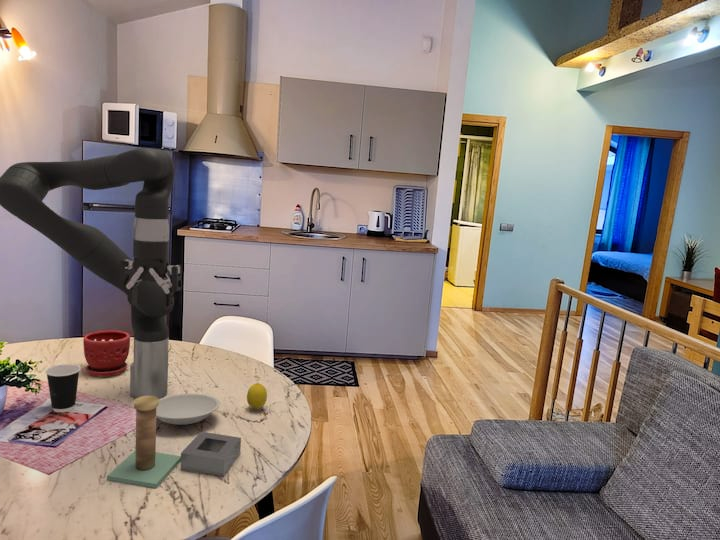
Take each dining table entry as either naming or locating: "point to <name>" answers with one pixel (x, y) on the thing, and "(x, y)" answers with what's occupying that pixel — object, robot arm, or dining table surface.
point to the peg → (145, 432)
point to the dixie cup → (63, 386)
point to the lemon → (256, 396)
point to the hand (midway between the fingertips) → (150, 306)
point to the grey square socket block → (211, 454)
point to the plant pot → (106, 352)
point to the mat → (147, 478)
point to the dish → (186, 408)
